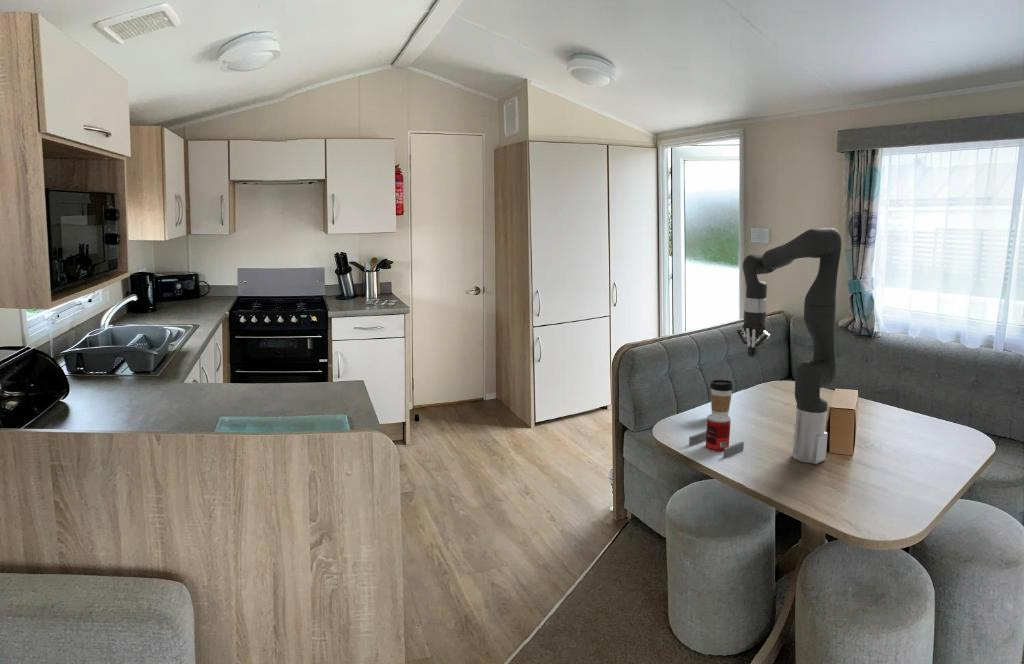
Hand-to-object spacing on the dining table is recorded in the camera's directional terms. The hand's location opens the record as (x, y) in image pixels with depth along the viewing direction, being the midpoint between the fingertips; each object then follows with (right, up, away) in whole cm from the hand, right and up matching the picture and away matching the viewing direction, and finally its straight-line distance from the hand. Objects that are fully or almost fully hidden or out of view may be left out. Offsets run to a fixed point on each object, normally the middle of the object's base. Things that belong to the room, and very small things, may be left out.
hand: (752, 356), depth 257 cm
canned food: (-17, -31, -15) cm, 38 cm away
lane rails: (-18, -31, -15) cm, 39 cm away
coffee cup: (-7, -25, +15) cm, 30 cm away
